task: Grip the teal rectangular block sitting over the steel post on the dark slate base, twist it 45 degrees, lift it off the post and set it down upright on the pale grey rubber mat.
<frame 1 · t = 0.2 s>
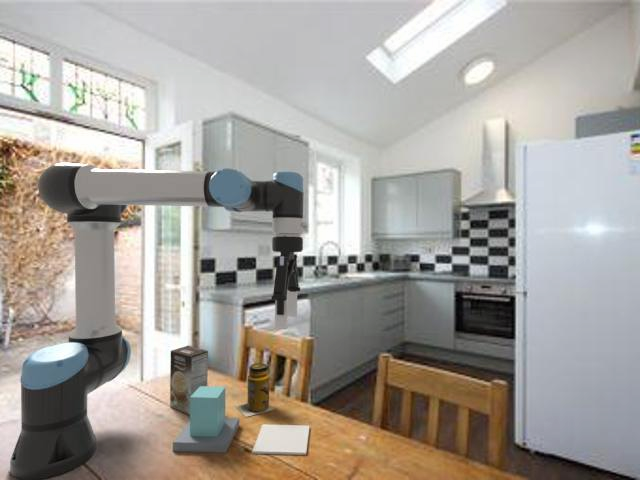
hand: (286, 322, 92), 27 cm above the table, tool pointing down, fingers open, 13 cm apart
teal rectangular block: (208, 429, 90), point 2 cm above the table, touching post base
post base: (208, 437, 90), on the table
coffee box: (188, 407, 106), on the table
condiment: (255, 409, 106), on the table
mat: (282, 439, 89), on the table
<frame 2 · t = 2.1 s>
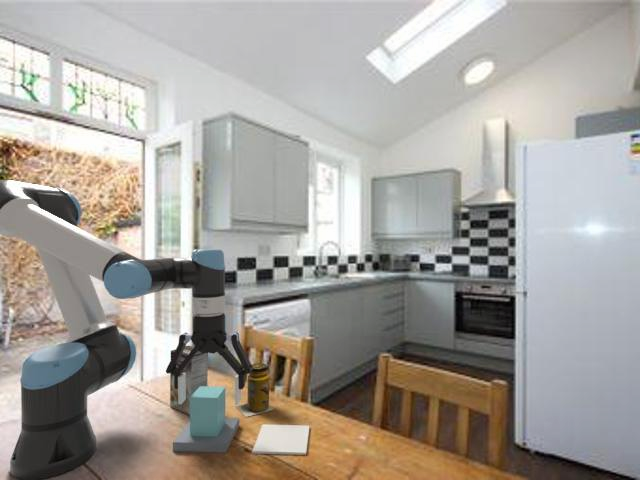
hand: (210, 402, 90), 9 cm above the table, tool pointing down, fingers open, 13 cm apart
nothing on the table moved.
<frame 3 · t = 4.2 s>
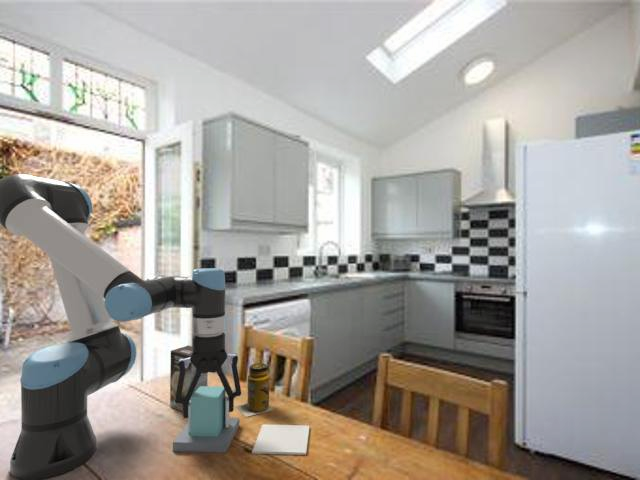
hand: (208, 427, 90), 2 cm above the table, tool pointing down, fingers closed on teal rectangular block, 8 cm apart
teal rectangular block: (208, 429, 90), point 2 cm above the table, touching gripper, post base
everything else where it was.
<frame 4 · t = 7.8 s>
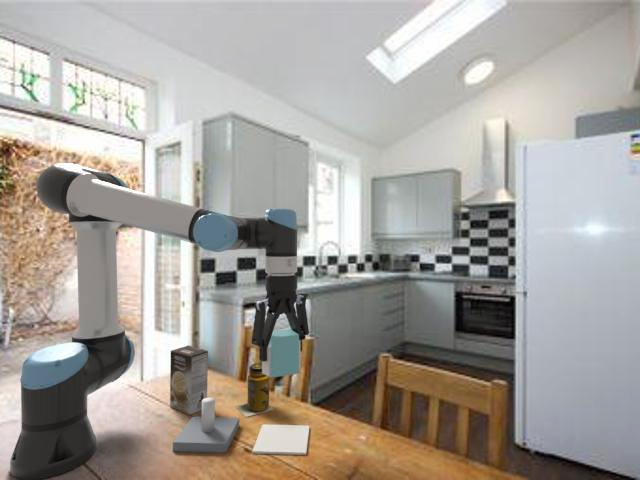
hand: (281, 369, 89), 17 cm above the table, tool pointing down, fingers closed on teal rectangular block, 8 cm apart
teal rectangular block: (281, 371, 89), point 16 cm above the table, touching gripper
everything else where it was.
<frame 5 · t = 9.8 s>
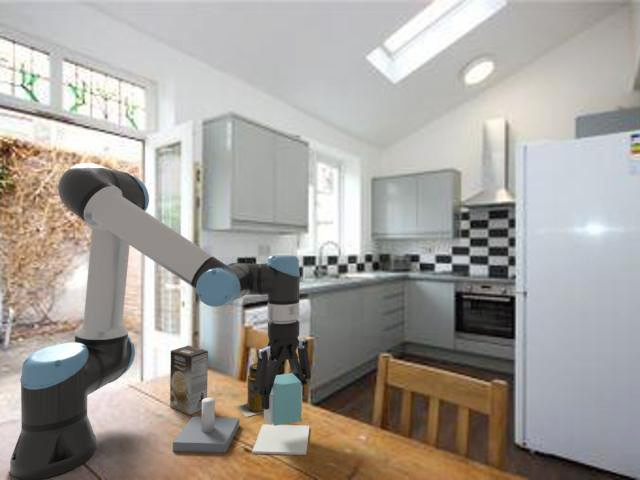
hand: (283, 415, 89), 6 cm above the table, tool pointing down, fingers closed on teal rectangular block, 8 cm apart
teal rectangular block: (283, 417, 89), point 6 cm above the table, touching gripper
everything else where it was.
when the fingers open (2 cm above the table, at t = 11.4 s): teal rectangular block drops 1 cm, resting on mat.
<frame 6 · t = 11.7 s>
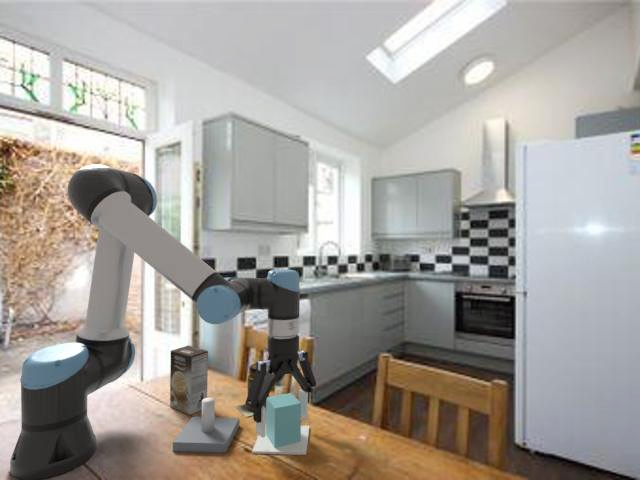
hand: (282, 425, 89), 3 cm above the table, tool pointing down, fingers open, 12 cm apart
teal rectangular block: (283, 438, 89), resting on mat
everything else where it was.
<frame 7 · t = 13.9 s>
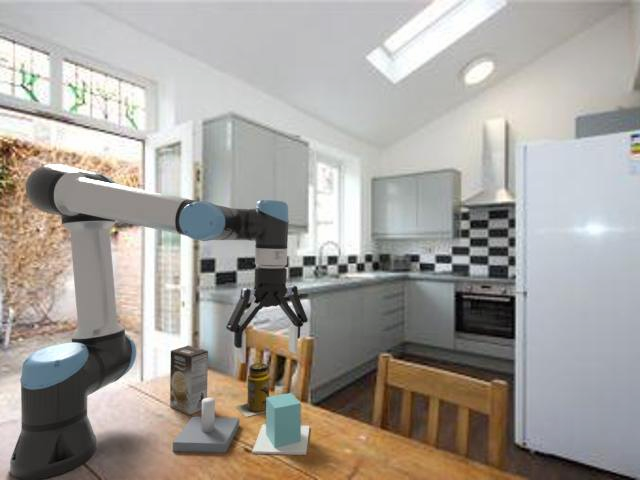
hand: (268, 356, 88), 20 cm above the table, tool pointing down, fingers open, 13 cm apart
nothing on the table moved.
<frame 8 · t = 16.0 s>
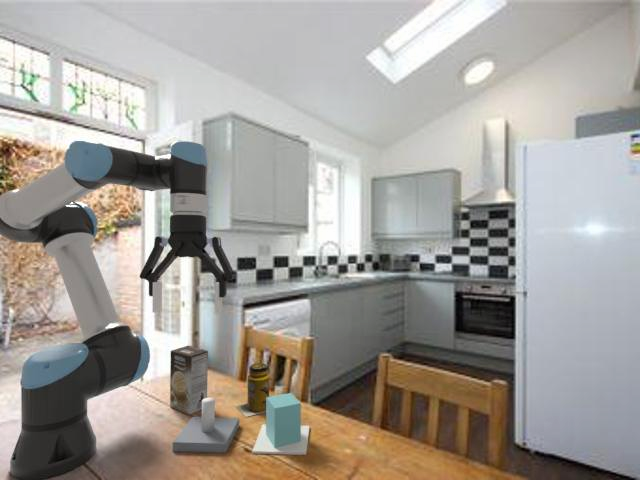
hand: (187, 312, 82), 32 cm above the table, tool pointing down, fingers open, 13 cm apart
nothing on the table moved.
at the end: teal rectangular block inside the target area (0.2 cm from its centre), point 0.5 cm above the table; teal rectangular block tilted 0°; teal rectangular block touching mat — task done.
